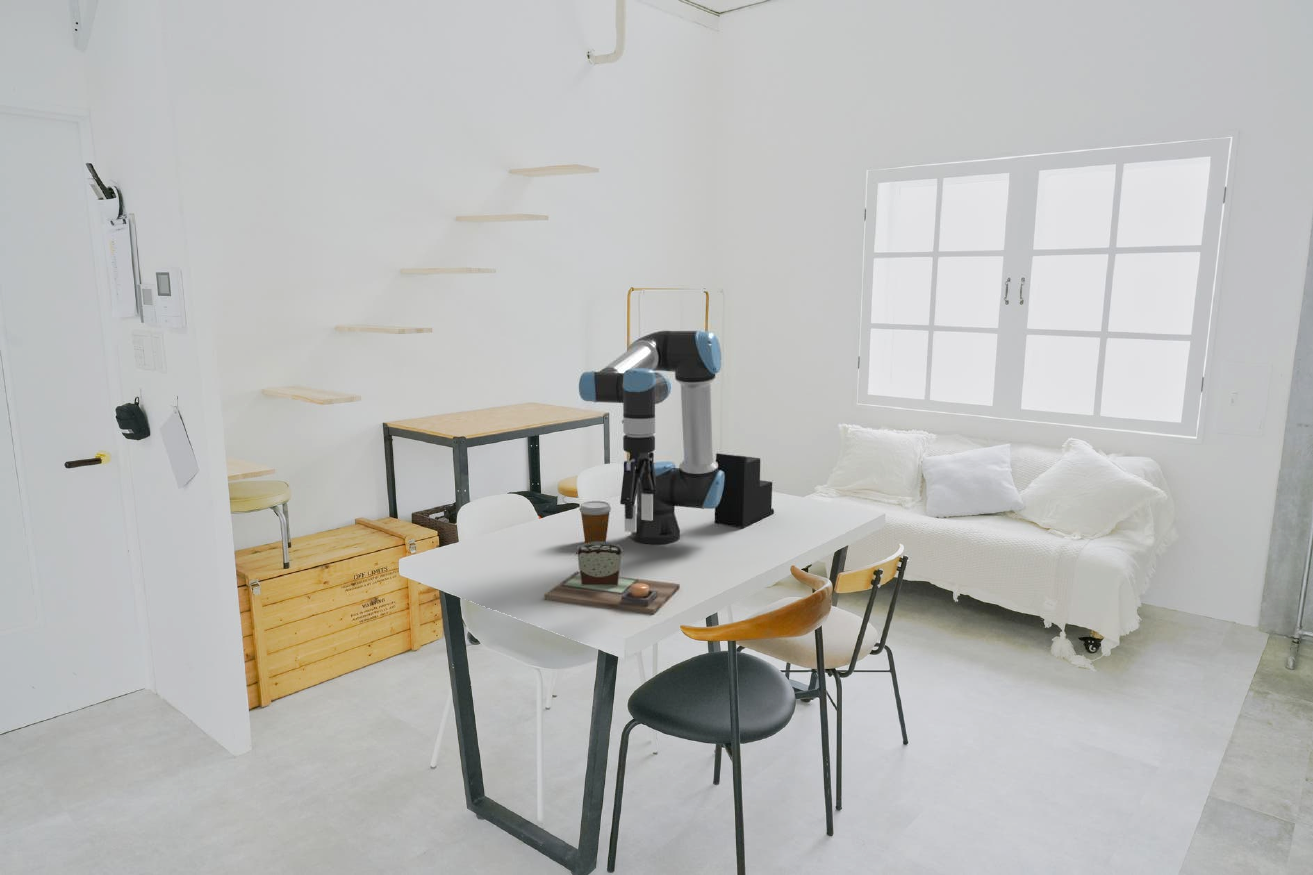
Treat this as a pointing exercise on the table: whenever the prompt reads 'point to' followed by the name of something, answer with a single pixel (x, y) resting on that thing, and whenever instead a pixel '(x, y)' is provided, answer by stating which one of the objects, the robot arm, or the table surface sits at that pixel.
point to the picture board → (614, 594)
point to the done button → (639, 590)
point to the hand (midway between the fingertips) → (639, 525)
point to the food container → (599, 563)
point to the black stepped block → (742, 492)
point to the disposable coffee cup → (595, 520)
